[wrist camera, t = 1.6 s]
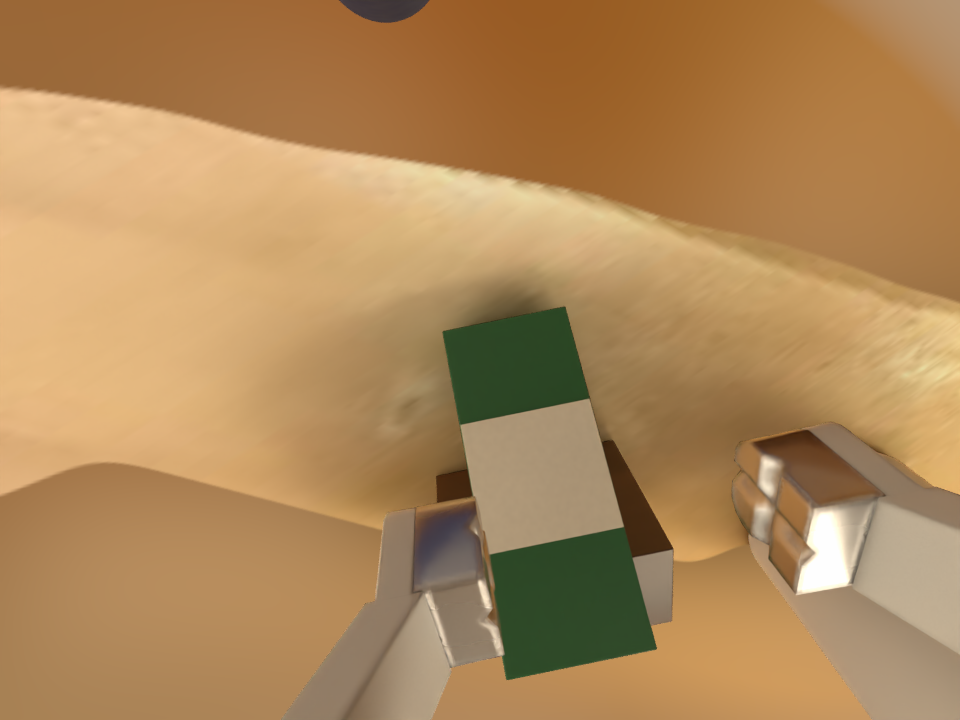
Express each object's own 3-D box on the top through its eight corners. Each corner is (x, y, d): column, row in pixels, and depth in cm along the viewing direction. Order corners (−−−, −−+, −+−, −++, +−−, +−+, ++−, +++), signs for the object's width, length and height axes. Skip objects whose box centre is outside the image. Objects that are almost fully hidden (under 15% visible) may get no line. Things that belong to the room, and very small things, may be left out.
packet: (441, 316, 27) (452, 479, 15) (555, 292, 27) (656, 437, 15) (482, 493, 33) (513, 706, 21) (575, 474, 33) (657, 676, 21)
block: (436, 475, 32) (438, 596, 24) (613, 439, 32) (674, 548, 24) (454, 538, 35) (462, 664, 27) (616, 504, 35) (672, 621, 27)
